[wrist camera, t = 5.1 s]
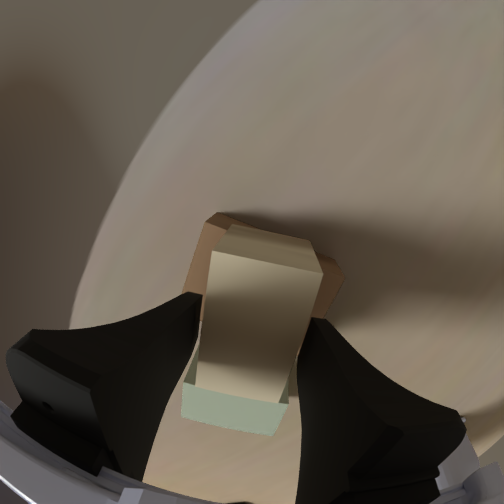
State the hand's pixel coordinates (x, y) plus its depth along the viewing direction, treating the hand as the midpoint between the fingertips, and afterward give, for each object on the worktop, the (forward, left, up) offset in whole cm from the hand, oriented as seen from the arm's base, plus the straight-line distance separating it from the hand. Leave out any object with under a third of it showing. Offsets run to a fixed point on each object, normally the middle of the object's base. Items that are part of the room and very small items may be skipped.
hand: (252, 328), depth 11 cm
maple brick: (0, 0, -3) cm, 3 cm away
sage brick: (0, +7, -6) cm, 9 cm away
